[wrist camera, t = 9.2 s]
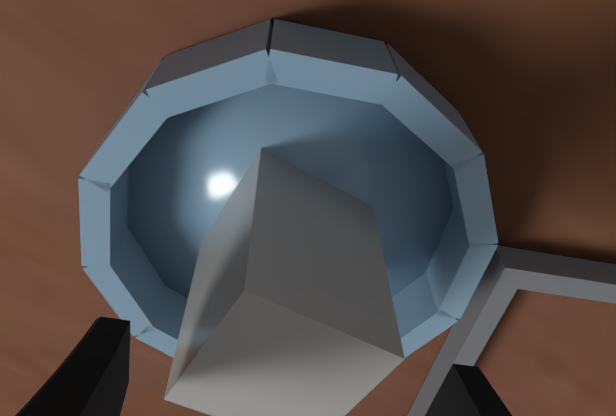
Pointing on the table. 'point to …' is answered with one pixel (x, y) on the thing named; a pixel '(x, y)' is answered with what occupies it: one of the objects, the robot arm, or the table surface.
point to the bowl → (296, 150)
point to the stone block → (286, 302)
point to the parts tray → (497, 295)
